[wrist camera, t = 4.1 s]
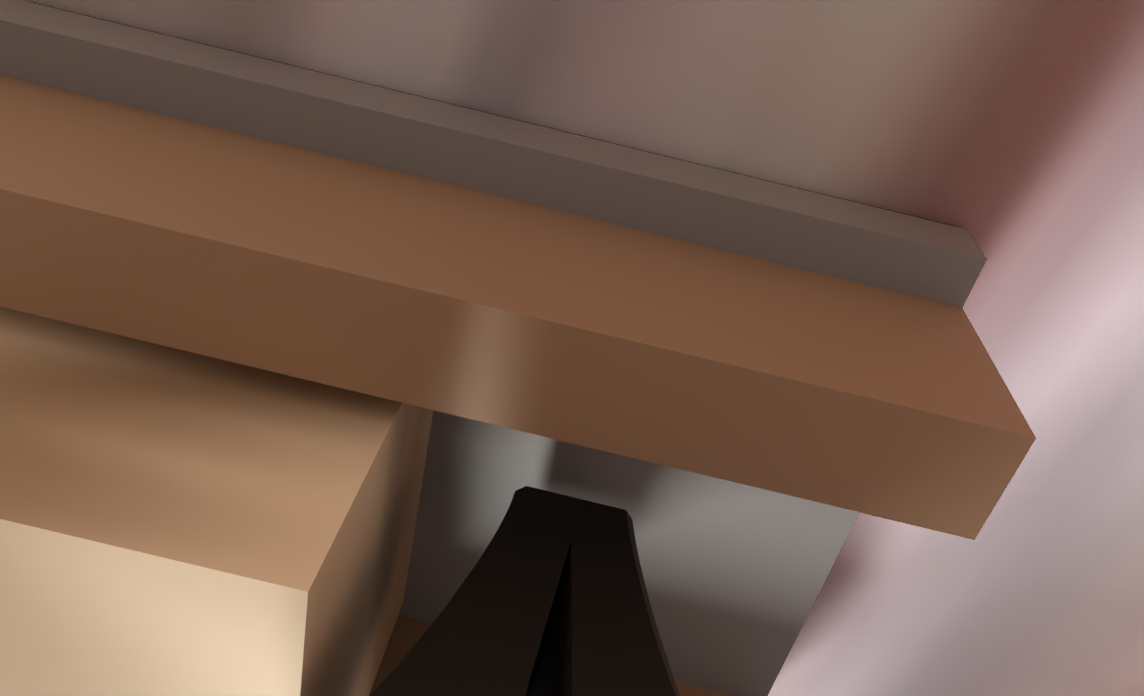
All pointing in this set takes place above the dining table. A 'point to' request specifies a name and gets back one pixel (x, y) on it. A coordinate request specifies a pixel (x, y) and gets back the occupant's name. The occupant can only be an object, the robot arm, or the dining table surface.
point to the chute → (518, 315)
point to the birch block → (194, 521)
